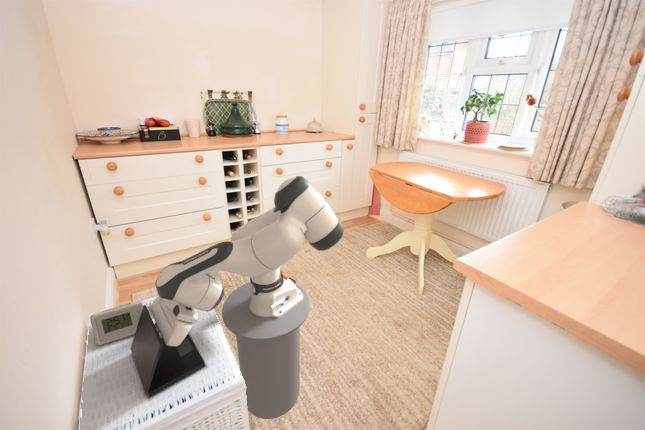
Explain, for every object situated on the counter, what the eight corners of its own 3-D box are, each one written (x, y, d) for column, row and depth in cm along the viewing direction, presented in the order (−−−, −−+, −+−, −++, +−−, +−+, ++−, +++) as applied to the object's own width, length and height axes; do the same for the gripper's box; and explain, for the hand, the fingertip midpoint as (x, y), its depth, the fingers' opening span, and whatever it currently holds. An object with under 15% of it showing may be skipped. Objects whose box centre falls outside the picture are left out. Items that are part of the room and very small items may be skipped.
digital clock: (94, 348, 98) (85, 324, 93) (102, 328, 105) (94, 305, 101) (149, 336, 103) (142, 313, 99) (152, 318, 111) (147, 296, 106)
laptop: (184, 328, 107) (183, 325, 106) (205, 366, 93) (204, 362, 92) (134, 352, 97) (133, 347, 96) (149, 397, 83) (148, 393, 83)
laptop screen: (146, 305, 94) (143, 305, 94) (163, 344, 81) (160, 344, 80) (133, 348, 96) (130, 348, 96) (148, 393, 83) (144, 394, 82)
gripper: (161, 282, 95) (134, 318, 94) (182, 317, 82) (150, 361, 80) (178, 287, 100) (152, 322, 98) (200, 322, 86) (171, 363, 84)
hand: (152, 340), depth 89 cm, fingers closed, pressing on laptop screen
